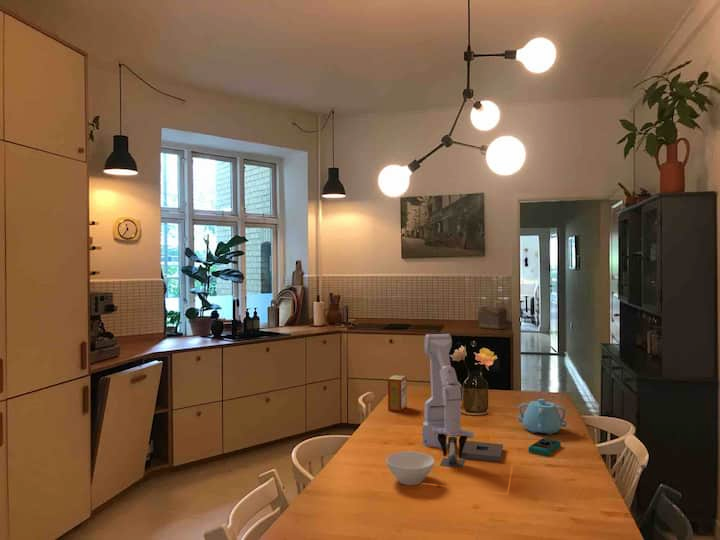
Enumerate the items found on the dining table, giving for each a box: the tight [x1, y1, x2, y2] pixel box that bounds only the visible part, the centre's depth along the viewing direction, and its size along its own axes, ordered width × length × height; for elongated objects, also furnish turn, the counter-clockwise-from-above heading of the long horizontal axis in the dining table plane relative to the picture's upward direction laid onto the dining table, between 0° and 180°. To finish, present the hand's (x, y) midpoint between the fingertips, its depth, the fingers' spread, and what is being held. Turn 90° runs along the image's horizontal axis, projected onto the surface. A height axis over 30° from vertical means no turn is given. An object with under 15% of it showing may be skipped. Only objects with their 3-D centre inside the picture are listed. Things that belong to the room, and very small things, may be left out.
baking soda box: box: [387, 374, 407, 413], centre depth 267 cm, size 10×6×16 cm
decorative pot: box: [517, 398, 568, 436], centre depth 231 cm, size 16×16×14 cm
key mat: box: [439, 457, 467, 469], centre depth 193 cm, size 8×8×1 cm
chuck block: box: [460, 440, 504, 463], centre depth 202 cm, size 14×14×2 cm
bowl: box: [385, 450, 435, 486], centre depth 178 cm, size 16×16×7 cm
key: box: [447, 436, 458, 465], centre depth 192 cm, size 3×3×9 cm
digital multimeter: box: [528, 437, 562, 457], centre depth 208 cm, size 7×15×3 cm, turn 139°
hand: (452, 456), depth 193 cm, fingers open, 5 cm apart
